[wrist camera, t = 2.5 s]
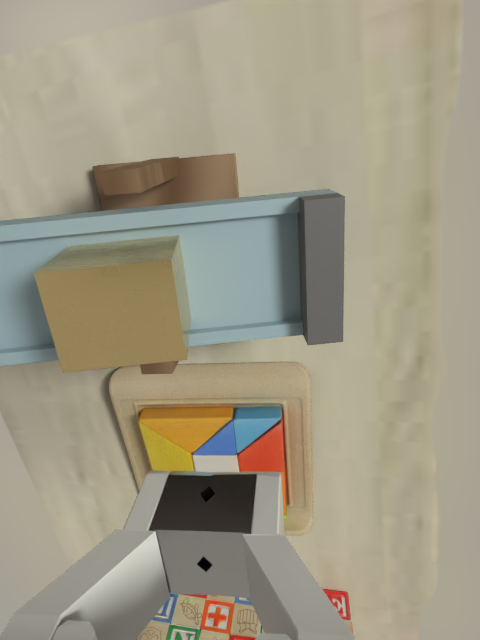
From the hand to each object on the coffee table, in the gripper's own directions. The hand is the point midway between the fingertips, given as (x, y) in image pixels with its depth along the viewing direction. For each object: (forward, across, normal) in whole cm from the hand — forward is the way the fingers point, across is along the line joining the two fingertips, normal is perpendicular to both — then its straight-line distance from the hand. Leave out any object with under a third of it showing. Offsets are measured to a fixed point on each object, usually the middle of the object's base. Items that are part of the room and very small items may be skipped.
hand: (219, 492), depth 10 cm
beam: (+16, +7, 0) cm, 18 cm away
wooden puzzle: (+25, +6, +20) cm, 33 cm away
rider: (+15, +7, 0) cm, 17 cm away
